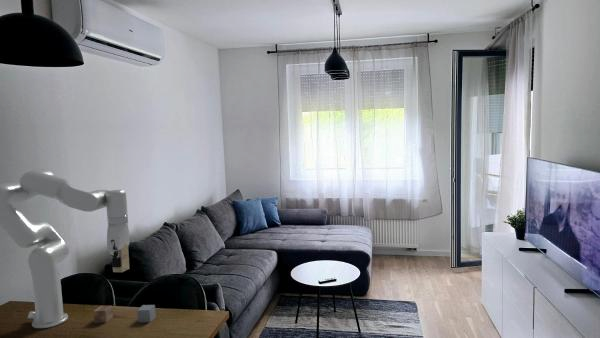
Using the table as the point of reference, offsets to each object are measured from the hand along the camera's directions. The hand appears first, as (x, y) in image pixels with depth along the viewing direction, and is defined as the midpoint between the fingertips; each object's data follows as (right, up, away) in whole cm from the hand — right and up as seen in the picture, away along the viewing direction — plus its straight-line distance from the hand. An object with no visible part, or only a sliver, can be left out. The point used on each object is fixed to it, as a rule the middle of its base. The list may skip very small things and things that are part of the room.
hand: (120, 264), depth 168 cm
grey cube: (+11, -22, -1) cm, 25 cm away
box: (0, -3, 0) cm, 3 cm away
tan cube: (-7, -23, 0) cm, 24 cm away
